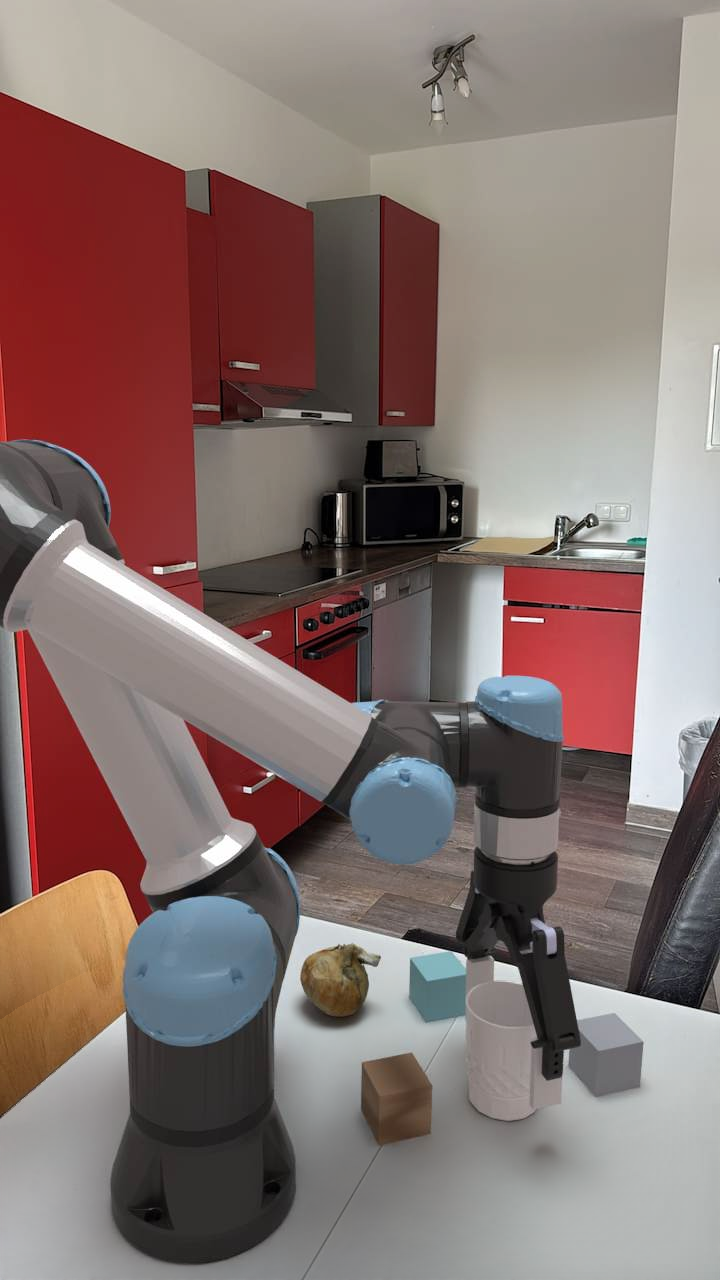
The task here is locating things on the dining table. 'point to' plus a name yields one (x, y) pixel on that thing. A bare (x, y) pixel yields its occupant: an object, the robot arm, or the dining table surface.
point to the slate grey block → (607, 1055)
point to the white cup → (499, 1049)
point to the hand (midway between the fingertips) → (509, 1058)
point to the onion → (338, 978)
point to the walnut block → (396, 1098)
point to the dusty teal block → (438, 986)
